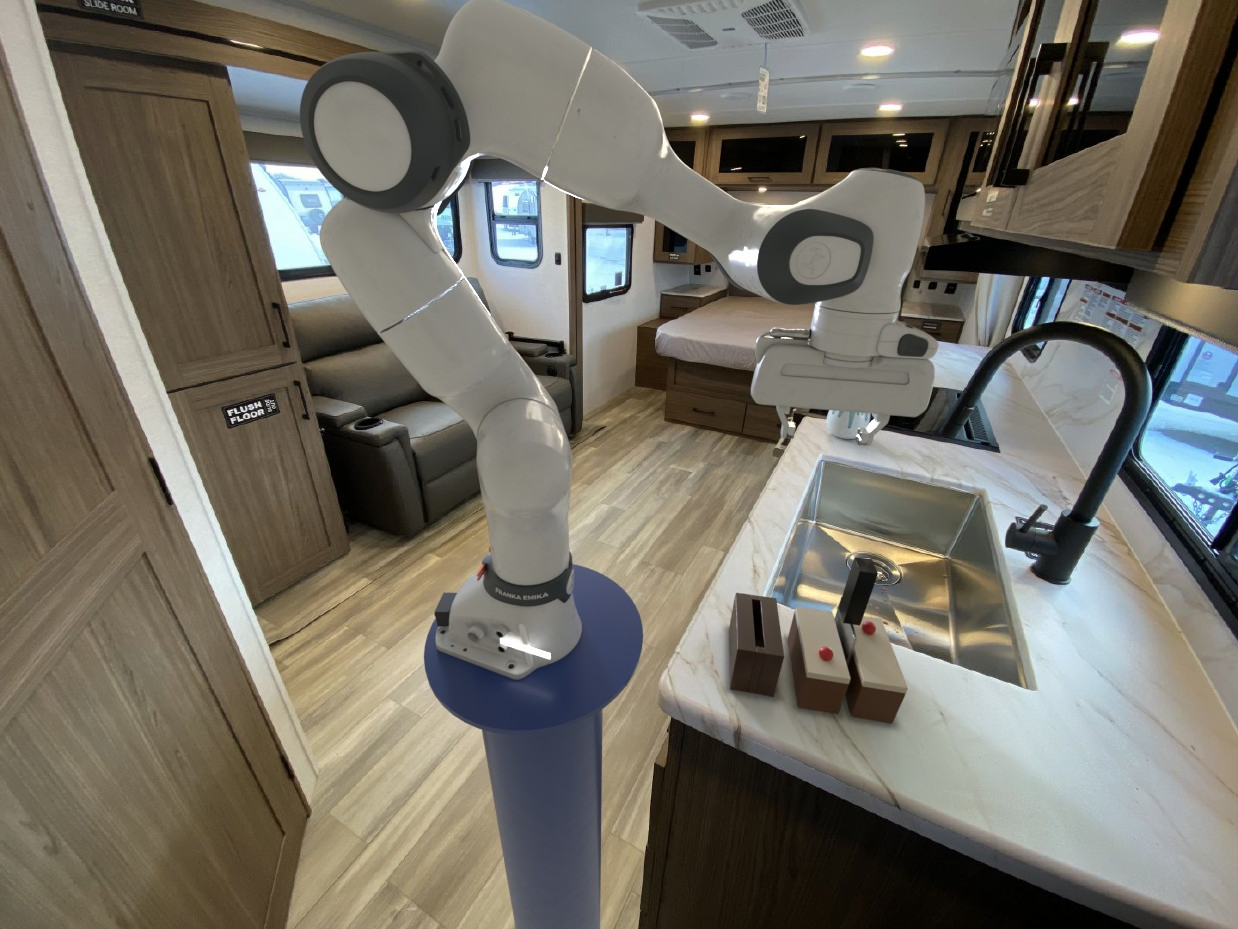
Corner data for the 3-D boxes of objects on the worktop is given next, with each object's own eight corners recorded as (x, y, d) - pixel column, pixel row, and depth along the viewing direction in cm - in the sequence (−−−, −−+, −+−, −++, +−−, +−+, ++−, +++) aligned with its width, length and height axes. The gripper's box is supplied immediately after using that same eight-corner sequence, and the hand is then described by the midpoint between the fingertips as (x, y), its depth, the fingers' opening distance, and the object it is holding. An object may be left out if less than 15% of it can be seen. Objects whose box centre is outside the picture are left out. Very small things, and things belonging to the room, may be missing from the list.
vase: (861, 429, 151) (877, 373, 142) (867, 445, 141) (885, 385, 133) (821, 424, 154) (835, 369, 145) (825, 439, 144) (839, 380, 135)
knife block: (729, 689, 69) (737, 649, 65) (728, 630, 78) (735, 592, 74) (774, 697, 68) (784, 656, 64) (767, 636, 77) (776, 598, 73)
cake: (797, 707, 66) (810, 664, 62) (787, 639, 77) (797, 598, 73) (892, 724, 64) (912, 680, 61) (868, 652, 75) (884, 610, 71)
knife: (830, 688, 69) (864, 584, 60) (820, 644, 76) (850, 545, 67) (846, 691, 69) (884, 587, 60) (835, 646, 76) (867, 547, 67)
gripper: (760, 332, 56) (743, 442, 62) (955, 344, 53) (916, 459, 59) (756, 321, 61) (741, 423, 68) (933, 331, 58) (899, 437, 65)
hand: (824, 440), depth 64 cm, fingers open, 8 cm apart
